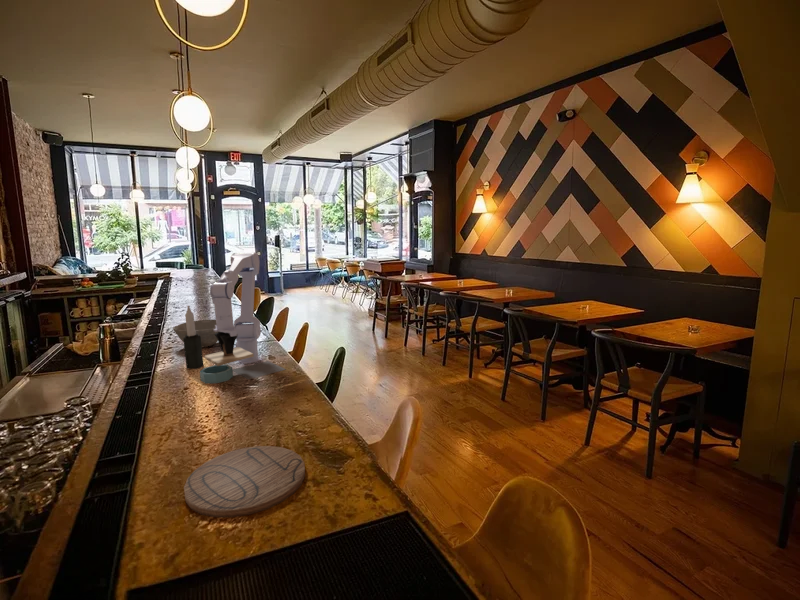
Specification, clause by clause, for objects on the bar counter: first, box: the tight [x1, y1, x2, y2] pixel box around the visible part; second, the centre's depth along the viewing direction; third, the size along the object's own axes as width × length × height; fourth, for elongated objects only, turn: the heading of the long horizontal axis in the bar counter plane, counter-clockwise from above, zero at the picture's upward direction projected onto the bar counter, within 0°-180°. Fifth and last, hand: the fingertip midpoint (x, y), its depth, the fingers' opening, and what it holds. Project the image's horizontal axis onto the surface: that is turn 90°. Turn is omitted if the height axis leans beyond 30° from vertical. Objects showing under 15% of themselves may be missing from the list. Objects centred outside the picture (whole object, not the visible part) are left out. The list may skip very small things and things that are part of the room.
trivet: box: [183, 445, 306, 518], centre depth 99 cm, size 25×25×2 cm
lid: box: [203, 344, 254, 366], centre depth 164 cm, size 13×13×5 cm
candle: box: [182, 305, 204, 370], centre depth 175 cm, size 5×5×25 cm
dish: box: [199, 364, 234, 384], centre depth 163 cm, size 10×10×4 cm
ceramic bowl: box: [172, 319, 219, 348], centre depth 209 cm, size 22×23×10 cm
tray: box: [232, 360, 287, 380], centre depth 172 cm, size 15×15×1 cm
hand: (227, 352), depth 164 cm, fingers closed on lid, 3 cm apart
